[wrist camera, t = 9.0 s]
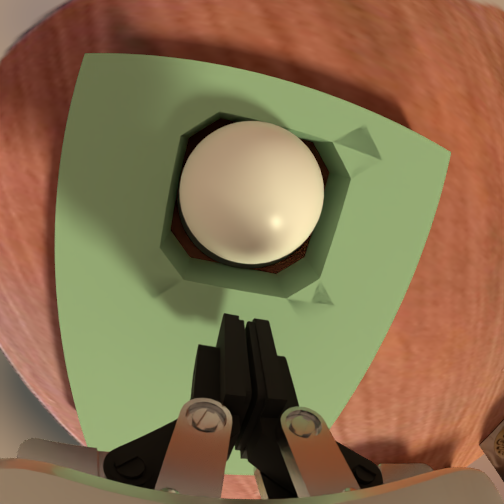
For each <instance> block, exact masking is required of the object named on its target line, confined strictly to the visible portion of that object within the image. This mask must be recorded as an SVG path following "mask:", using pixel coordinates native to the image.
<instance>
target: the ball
mask: <svg viewBox="0 0 504 504" xmlns="http://www.w3.org/2000/svg"><path fill="white" fill-rule="evenodd" d="M179 193H180V205H181V210H182V213H183V216H184V218H185V221H186V223H187V225H188V227H189V229H190V231H191V232H192V234H193V235H194V236H195V237H196V239H197V240H198V241H199V242H200V243H201V244H202V245H203V246H204V247H206V248H207V249H208V250H209V251H211V252H213V253H214V254H216V255H217V256H219V257H221V258H224V259H226V260H229V261H233V262H237V263H244V264H260V263H267V262H271V261H274V260H277V259H280V258H282V257H284V256H286V255H288V254H289V253H291V252H292V251H294V250H295V249H296V248H298V247H299V246H300V245H301V244H302V243H303V242H304V241H305V240H306V239H307V238H308V237H309V235H310V234H311V233H312V231H313V230H314V228H315V226H316V224H317V222H318V220H319V217H320V214H321V211H322V207H323V200H324V184H323V178H322V174H321V170H320V168H319V165H318V163H317V161H316V159H315V157H314V155H313V154H312V152H311V151H310V149H309V148H308V147H307V146H306V145H305V144H304V143H303V142H302V141H301V140H300V139H299V138H298V137H297V136H296V135H294V134H293V133H291V132H289V131H288V130H286V129H284V128H282V127H280V126H277V125H274V124H271V123H267V122H261V121H242V122H236V123H232V124H229V125H226V126H224V127H222V128H219V129H217V130H216V131H214V132H212V133H211V134H209V135H208V136H207V137H205V138H204V139H203V140H202V141H201V142H200V143H199V144H198V145H197V146H196V148H195V149H194V150H193V152H192V153H191V154H190V156H189V158H188V160H187V162H186V164H185V166H184V169H183V172H182V175H181V181H180V189H179Z"/></svg>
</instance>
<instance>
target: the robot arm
mask: <svg viewBox="0 0 504 504" xmlns="http://www.w3.org/2000/svg"><path fill="white" fill-rule="evenodd" d="M234 445H235V450H240V457H241V459H248V462H249V463H250V464H252V465H253V466H254V468H253V469H254V475H255V479H256V482H257V485H258V488H259V492H260V495H261V498H262V499H224V498H221V492H222V486H223V479H224V473H225V467H226V461H228V459H229V457H230V455H231V452H232V450H233V448H234ZM0 504H504V500H503V498H502V497H501V495H500V493H499V491H498V490H497V488H496V487H495V485H494V484H493V482H492V481H491V480H490V478H489V477H488V476H487V475H486V474H485V473H484V472H482V471H480V470H478V469H474V468H466V467H453V468H445V469H439V470H435V471H434V470H433V469H432V468H431V467H430V466H428V465H426V464H422V463H414V464H385V463H380V464H379V465H378V466H377V465H376V464H374V463H373V462H371V461H370V460H368V459H366V458H364V457H362V456H361V455H359V454H357V453H355V452H354V451H352V450H350V449H348V448H347V447H345V446H343V445H342V444H340V443H338V442H337V441H335V440H334V438H333V436H332V434H331V432H330V430H329V428H328V426H327V424H326V422H325V421H324V419H323V418H322V416H321V415H319V414H318V413H317V412H316V411H314V410H312V409H310V408H306V407H299V403H298V400H297V396H296V392H295V388H294V385H293V381H292V377H291V374H290V370H289V366H288V363H287V360H286V357H284V356H278V355H277V352H276V348H275V343H274V339H273V335H272V331H271V327H270V323H269V321H268V320H263V319H257V318H254V319H253V320H252V322H251V321H248V322H247V324H246V327H245V325H244V320H239V316H238V315H232V314H227V313H224V314H223V318H222V322H221V326H220V330H219V335H218V339H217V343H216V347H213V346H207V345H202V344H198V348H197V353H196V359H195V365H194V371H193V379H192V388H191V398H190V401H188V402H187V403H185V404H184V405H183V407H182V408H181V410H180V413H179V416H178V419H176V420H174V421H172V422H170V423H168V424H166V425H164V426H162V427H160V428H158V429H156V430H154V431H152V432H150V433H148V434H146V435H144V436H142V437H139V438H137V439H135V440H133V441H131V442H128V443H126V444H124V445H122V446H119V447H117V448H115V449H113V450H112V451H110V452H106V451H98V450H97V448H93V447H85V446H78V445H71V444H64V443H59V442H53V441H48V440H44V439H38V438H31V439H28V440H25V441H24V442H23V443H22V444H21V445H20V447H19V449H18V454H17V458H0Z"/></svg>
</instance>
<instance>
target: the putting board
mask: <svg viewBox="0 0 504 504" xmlns="http://www.w3.org/2000/svg"><path fill="white" fill-rule="evenodd" d="M220 118H221V119H225V120H230V121H235V122H242V121H261V122H267V123H271V124H274V125H277V126H280V127H282V128H284V129H286V130H288V131H289V132H291V133H293V134H294V135H296V136H297V137H298V138H300V139H304V140H307V141H310V142H313V143H314V145H315V147H316V149H317V150H318V152H319V154H320V156H321V158H322V160H323V162H324V163H325V165H326V167H327V169H328V171H329V176H328V179H327V183H326V186H325V190H324V200H323V207H322V211H321V214H320V217H319V220H318V222H317V224H316V226H315V228H314V230H313V231H312V234H311V238H310V241H309V244H308V247H307V251H306V254H305V257H304V258H302V259H300V260H299V261H297V262H295V263H294V264H292V265H290V266H289V267H287V268H285V269H284V270H282V271H280V272H279V273H277V274H275V273H269V272H264V271H259V270H253V269H248V268H261V267H265V266H269V265H272V264H275V263H277V262H279V261H281V260H283V259H285V258H287V257H288V256H290V255H291V254H293V253H294V252H295V251H296V250H297V249H298V248H300V247H301V245H302V244H303V243H304V242H305V241H306V240H307V239H306V240H305V241H304V242H303V243H302V244H301V245H300V246H299V247H298V248H296V249H295V250H294V251H292V252H291V253H289V254H288V255H286V256H284V257H282V258H280V259H277V260H274V261H271V262H267V263H260V264H244V263H237V262H233V261H229V260H226V259H224V258H221V257H219V256H217V255H216V254H214V253H213V252H211V251H209V250H208V249H207V248H206V247H204V246H203V245H202V244H201V243H200V242H199V241H198V240H197V239H196V237H195V236H194V235H193V234H192V232H191V231H190V229H189V227H188V225H187V223H186V221H185V218H184V216H183V213H182V210H181V205H180V193H179V189H180V183H179V181H181V179H180V176H181V171H182V166H183V161H184V157H185V152H186V148H187V143H188V139H189V138H190V137H191V136H193V135H194V134H196V133H197V132H199V131H201V130H202V129H204V128H205V127H207V126H209V125H210V124H212V123H213V122H215V121H217V120H218V119H220ZM450 155H451V152H450V151H448V150H446V149H445V148H443V147H441V146H440V145H438V144H436V143H434V142H432V141H431V140H429V139H427V138H425V137H423V136H421V135H420V134H418V133H416V132H414V131H412V130H410V129H408V128H406V127H404V126H402V125H400V124H398V123H396V122H394V121H392V120H390V119H387V118H385V117H383V116H381V115H379V114H376V113H374V112H372V111H369V110H367V109H365V108H362V107H360V106H358V105H355V104H353V103H350V102H348V101H345V100H342V99H340V98H337V97H334V96H332V95H329V94H326V93H323V92H320V91H318V90H315V89H312V88H309V87H305V86H302V85H299V84H296V83H293V82H289V81H286V80H282V79H279V78H275V77H271V76H268V75H264V74H260V73H256V72H252V71H247V70H243V69H238V68H234V67H229V66H224V65H219V64H213V63H208V62H201V61H195V60H188V59H181V58H173V57H164V56H153V55H140V54H120V53H85V55H84V58H83V61H82V64H81V67H80V71H79V74H78V78H77V81H76V85H75V89H74V93H73V97H72V101H71V105H70V109H69V114H68V119H67V124H66V129H65V134H64V140H63V146H62V153H61V160H60V168H59V176H58V186H57V198H56V215H55V277H56V293H57V305H58V315H59V324H60V331H61V339H62V345H63V351H64V357H65V363H66V368H67V373H68V378H69V382H70V387H71V391H72V395H73V399H74V403H75V407H76V411H77V414H78V418H79V421H80V425H81V428H82V431H83V434H84V437H85V440H86V443H87V446H88V447H93V448H97V450H98V451H106V452H110V451H112V450H113V449H115V448H117V447H119V446H122V445H124V444H126V443H128V442H131V441H133V440H135V439H137V438H139V437H142V436H144V435H146V434H148V433H150V432H152V431H154V430H156V429H158V428H160V427H162V426H164V425H166V424H168V423H170V422H172V421H174V420H176V419H178V416H179V413H180V410H181V408H182V407H183V405H184V404H185V403H187V402H188V401H190V398H191V388H192V379H193V371H194V365H195V359H196V353H197V348H198V344H202V345H207V346H213V347H216V343H217V339H218V335H219V330H220V326H221V322H222V318H223V314H224V313H227V314H232V315H238V316H239V320H244V325H245V327H246V324H247V322H248V321H251V322H252V320H253V319H254V318H257V319H263V320H268V321H269V323H270V327H271V331H272V335H273V339H274V343H275V348H276V352H277V355H278V356H284V357H286V360H287V363H288V366H289V370H290V374H291V377H292V381H293V385H294V388H295V392H296V396H297V400H298V403H299V407H306V408H310V409H312V410H314V411H316V412H317V413H318V414H319V415H321V416H322V418H323V419H324V421H325V422H326V424H327V426H328V428H329V429H330V428H331V426H332V425H333V423H334V422H335V421H336V419H337V418H338V416H339V415H340V413H341V412H342V410H343V409H344V407H345V405H346V404H347V402H348V401H349V399H350V398H351V396H352V394H353V393H354V391H355V390H356V388H357V386H358V385H359V383H360V381H361V380H362V378H363V376H364V374H365V373H366V371H367V369H368V367H369V366H370V364H371V362H372V360H373V359H374V357H375V355H376V353H377V351H378V349H379V347H380V345H381V344H382V342H383V340H384V338H385V336H386V334H387V332H388V330H389V328H390V326H391V324H392V322H393V320H394V318H395V315H396V313H397V311H398V309H399V307H400V305H401V302H402V300H403V298H404V296H405V293H406V291H407V289H408V286H409V284H410V282H411V279H412V277H413V274H414V272H415V269H416V267H417V264H418V262H419V259H420V256H421V254H422V251H423V248H424V245H425V243H426V240H427V237H428V234H429V231H430V228H431V225H432V222H433V219H434V216H435V212H436V209H437V206H438V202H439V199H440V195H441V192H442V188H443V184H444V181H445V177H446V173H447V169H448V164H449V160H450ZM178 186H179V188H178ZM177 191H178V211H179V216H180V219H181V223H182V225H183V227H184V229H185V232H186V233H187V235H188V236H189V238H190V240H191V241H192V242H193V243H194V244H195V246H196V247H197V248H198V249H199V250H200V251H202V252H203V253H204V254H205V255H207V256H208V257H210V258H211V259H213V260H215V261H217V262H219V263H217V262H212V261H207V260H201V259H196V258H191V257H190V256H189V255H188V254H187V252H186V251H185V250H184V248H183V247H182V245H181V244H180V243H179V241H178V240H177V238H176V237H175V236H174V234H173V233H172V231H171V224H172V218H173V212H174V207H175V201H176V196H177ZM253 468H254V466H253V465H252V464H250V463H249V462H248V459H241V457H240V450H235V445H234V448H233V450H232V452H231V455H230V457H229V459H228V461H226V467H225V473H224V474H233V475H254V469H253Z"/></svg>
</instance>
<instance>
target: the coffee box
mask: <svg viewBox="0 0 504 504" xmlns="http://www.w3.org/2000/svg"><path fill="white" fill-rule="evenodd" d="M479 446H480V447H481V449H482V450H483V452H484V453H485V454H486V456H487V458H488V459H489V460H490V462H491V463H492V465H493V466H494V468H495V469H496V471H497V472H498V474H499V475H500V477H501V478H502V480H503V482H504V420H503V421H502V422H501V424H500V425H499V426H498V427H497V428H496V429H495V430H494V431H493V432H492V433H491V434H490V435H489V436H488V437H487V438H486V439H485V440H484V441H483V442H482V443H481V444H480V445H479Z"/></svg>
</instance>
